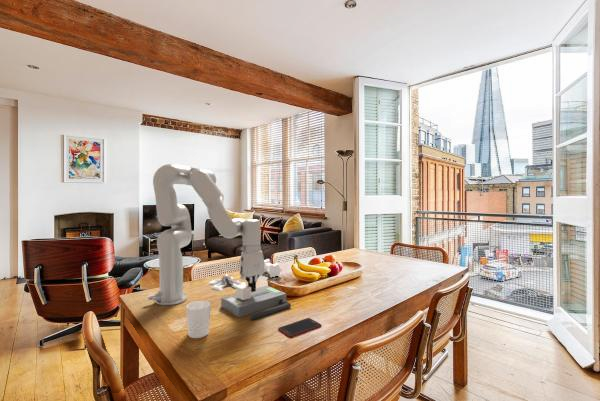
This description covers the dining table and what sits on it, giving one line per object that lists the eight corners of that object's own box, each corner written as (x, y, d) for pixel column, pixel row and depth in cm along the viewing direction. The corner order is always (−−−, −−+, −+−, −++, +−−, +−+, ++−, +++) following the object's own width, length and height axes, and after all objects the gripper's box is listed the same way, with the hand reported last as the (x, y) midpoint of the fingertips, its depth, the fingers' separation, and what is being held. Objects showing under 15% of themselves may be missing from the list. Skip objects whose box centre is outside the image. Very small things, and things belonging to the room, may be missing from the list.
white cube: (242, 300, 122) (242, 289, 122) (236, 297, 126) (236, 286, 125) (251, 298, 125) (251, 287, 124) (244, 294, 128) (244, 284, 128)
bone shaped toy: (258, 273, 178) (257, 260, 178) (271, 270, 183) (270, 257, 182) (269, 280, 166) (268, 265, 165) (283, 276, 170) (282, 262, 170)
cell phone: (277, 330, 106) (277, 328, 106) (308, 319, 115) (308, 317, 115) (289, 339, 100) (289, 336, 100) (322, 327, 109) (322, 324, 109)
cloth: (250, 288, 151) (250, 276, 151) (213, 294, 142) (213, 281, 142) (238, 276, 171) (238, 266, 171) (204, 281, 162) (204, 270, 162)
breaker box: (238, 317, 116) (238, 307, 115) (221, 306, 126) (221, 297, 126) (286, 302, 132) (286, 293, 132) (267, 293, 142) (267, 285, 142)
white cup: (190, 328, 106) (190, 300, 106) (212, 328, 107) (212, 300, 107) (183, 339, 98) (183, 309, 98) (207, 339, 99) (207, 309, 99)
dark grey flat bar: (251, 321, 113) (251, 316, 113) (242, 315, 117) (242, 310, 117) (291, 307, 126) (291, 302, 126) (282, 303, 131) (282, 298, 131)
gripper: (241, 252, 119) (241, 297, 120) (271, 247, 130) (271, 289, 130) (231, 249, 125) (232, 293, 125) (260, 244, 135) (260, 285, 136)
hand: (252, 290), depth 128 cm, fingers closed
